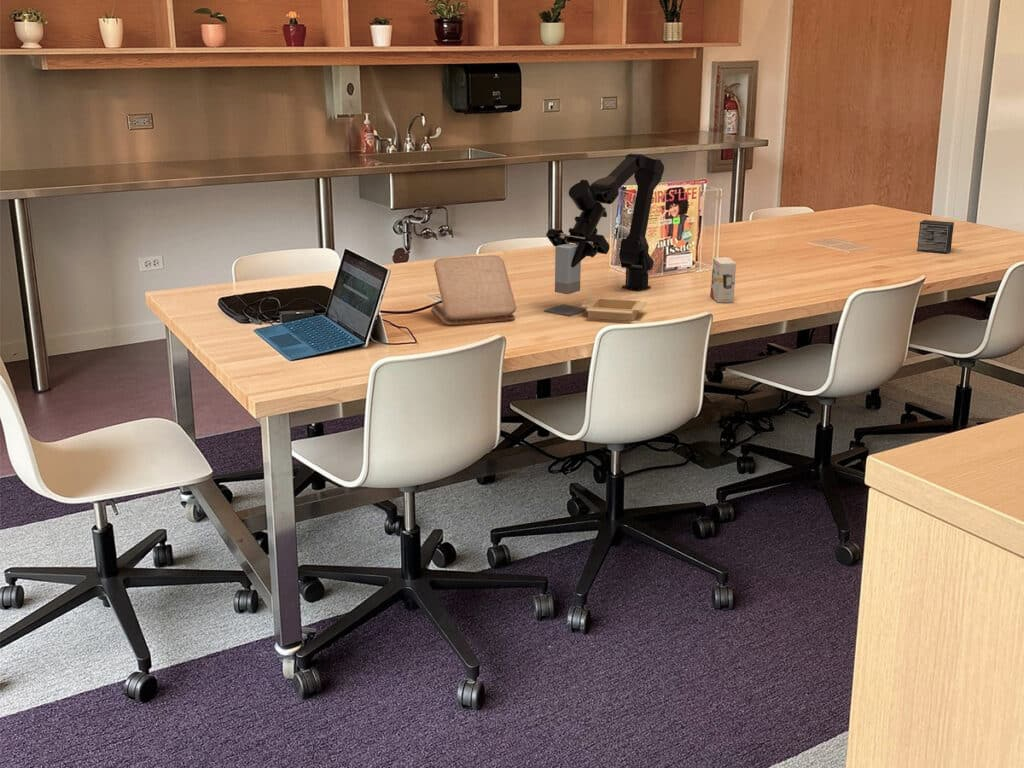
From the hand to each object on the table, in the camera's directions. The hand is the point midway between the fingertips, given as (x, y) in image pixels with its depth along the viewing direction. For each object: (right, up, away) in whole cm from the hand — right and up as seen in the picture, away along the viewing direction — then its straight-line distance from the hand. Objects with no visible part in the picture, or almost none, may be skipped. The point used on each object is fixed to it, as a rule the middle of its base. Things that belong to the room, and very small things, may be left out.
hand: (565, 265), depth 312 cm
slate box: (+1, -7, +3) cm, 8 cm away
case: (-26, -14, +2) cm, 29 cm away
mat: (+1, -12, +5) cm, 13 cm away
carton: (+14, -13, +1) cm, 19 cm away
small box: (+135, +14, +84) cm, 159 cm away
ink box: (+47, -8, +17) cm, 51 cm away
